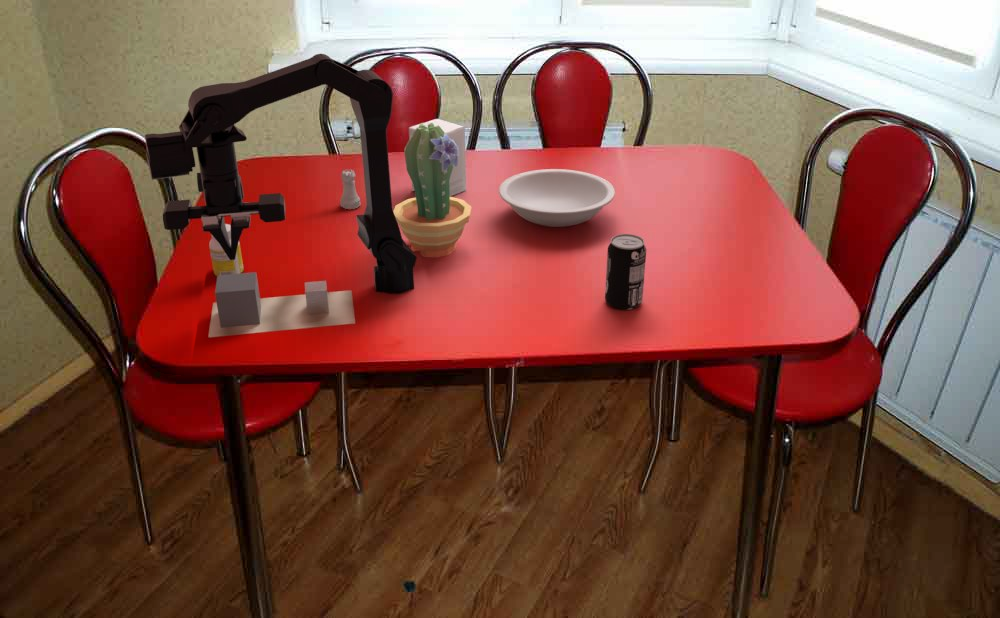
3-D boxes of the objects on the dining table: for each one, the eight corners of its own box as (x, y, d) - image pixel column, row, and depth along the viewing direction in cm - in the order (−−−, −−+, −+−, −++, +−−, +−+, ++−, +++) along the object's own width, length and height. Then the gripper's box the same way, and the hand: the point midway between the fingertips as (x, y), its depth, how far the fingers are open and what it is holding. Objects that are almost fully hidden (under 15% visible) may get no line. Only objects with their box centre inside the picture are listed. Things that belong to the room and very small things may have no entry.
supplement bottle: (232, 267, 183) (225, 219, 178) (250, 275, 180) (243, 227, 175) (208, 277, 179) (200, 229, 174) (226, 285, 176) (218, 237, 171)
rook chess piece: (350, 200, 211) (347, 166, 207) (365, 205, 209) (362, 170, 205) (336, 207, 208) (332, 172, 204) (351, 212, 205) (348, 176, 201)
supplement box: (467, 190, 216) (466, 126, 208) (438, 202, 210) (436, 136, 203) (440, 180, 221) (437, 117, 214) (410, 191, 216) (407, 126, 208)
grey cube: (328, 303, 168) (326, 280, 166) (329, 313, 165) (326, 290, 163) (307, 305, 167) (304, 282, 165) (307, 315, 164) (305, 292, 162)
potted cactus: (399, 268, 182) (391, 141, 170) (390, 234, 195) (382, 115, 183) (479, 260, 185) (477, 135, 173) (465, 228, 198) (462, 109, 186)
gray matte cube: (261, 306, 167) (256, 272, 164) (259, 324, 162) (254, 289, 158) (223, 309, 166) (217, 275, 163) (220, 327, 161) (214, 292, 157)
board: (351, 295, 173) (351, 290, 172) (355, 328, 162) (355, 323, 162) (214, 307, 169) (213, 302, 168) (209, 342, 158) (208, 337, 158)
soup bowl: (637, 224, 199) (639, 195, 196) (544, 253, 187) (544, 222, 184) (566, 188, 217) (567, 161, 213) (477, 213, 205) (476, 184, 202)
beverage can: (603, 293, 173) (607, 232, 167) (640, 293, 173) (645, 232, 167) (606, 311, 167) (609, 248, 161) (643, 311, 167) (648, 249, 161)
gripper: (280, 148, 159) (290, 234, 167) (163, 156, 156) (179, 243, 164) (279, 172, 150) (290, 262, 157) (154, 180, 147) (172, 272, 154)
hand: (232, 258), depth 159 cm, fingers closed
